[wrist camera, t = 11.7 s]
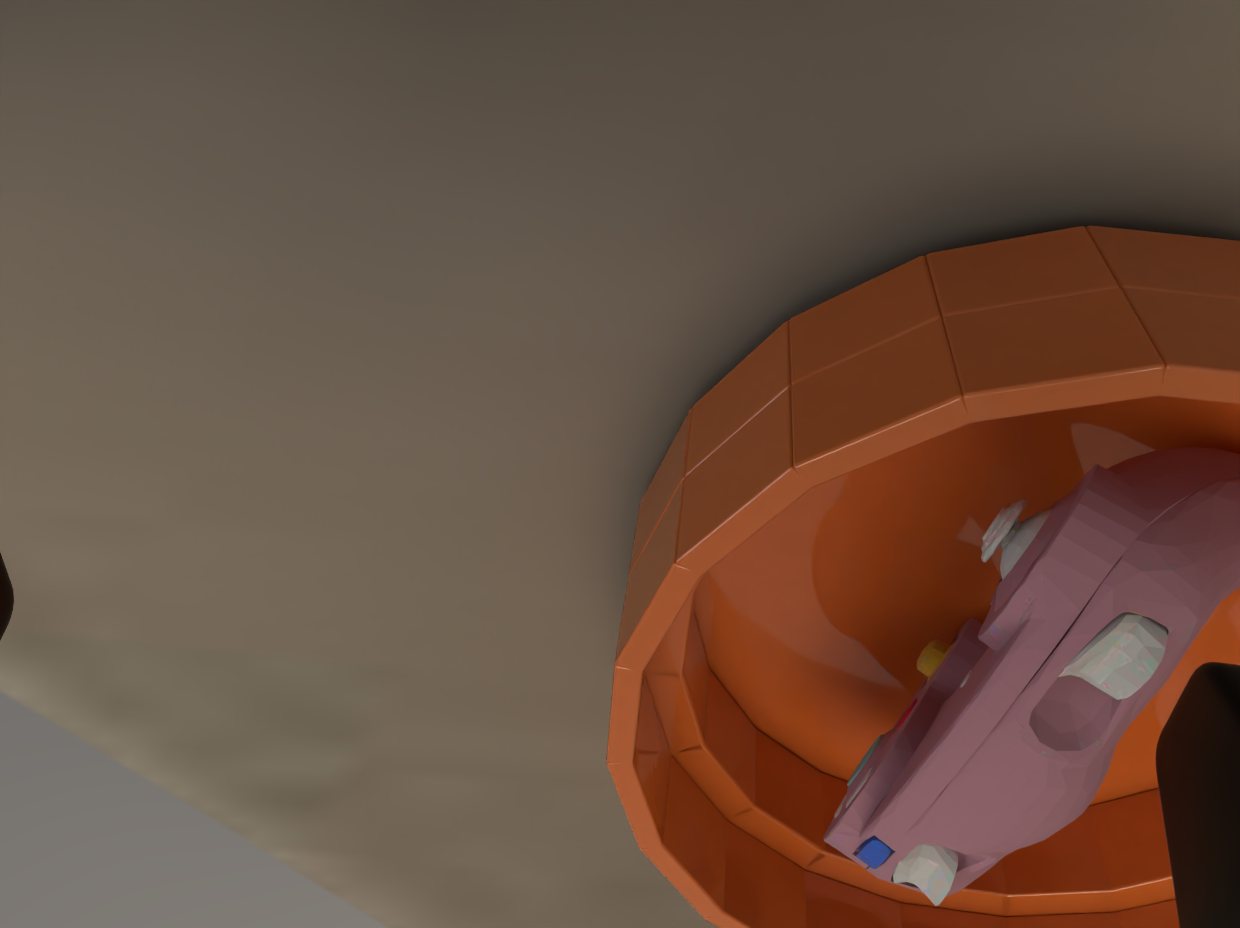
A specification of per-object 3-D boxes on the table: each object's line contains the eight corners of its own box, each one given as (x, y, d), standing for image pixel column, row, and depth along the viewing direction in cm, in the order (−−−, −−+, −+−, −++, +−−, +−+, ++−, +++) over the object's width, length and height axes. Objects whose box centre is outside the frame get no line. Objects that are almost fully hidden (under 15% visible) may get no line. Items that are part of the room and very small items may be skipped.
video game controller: (1109, 346, 21) (1016, 495, 15) (1347, 479, 19) (1338, 693, 14) (874, 682, 26) (746, 877, 21) (1046, 802, 25) (957, 1041, 20)
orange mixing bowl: (614, 778, 28) (588, 965, 24) (672, 169, 18) (645, 307, 14) (1259, 863, 27) (1345, 1072, 23) (1663, 271, 18) (1928, 447, 14)
